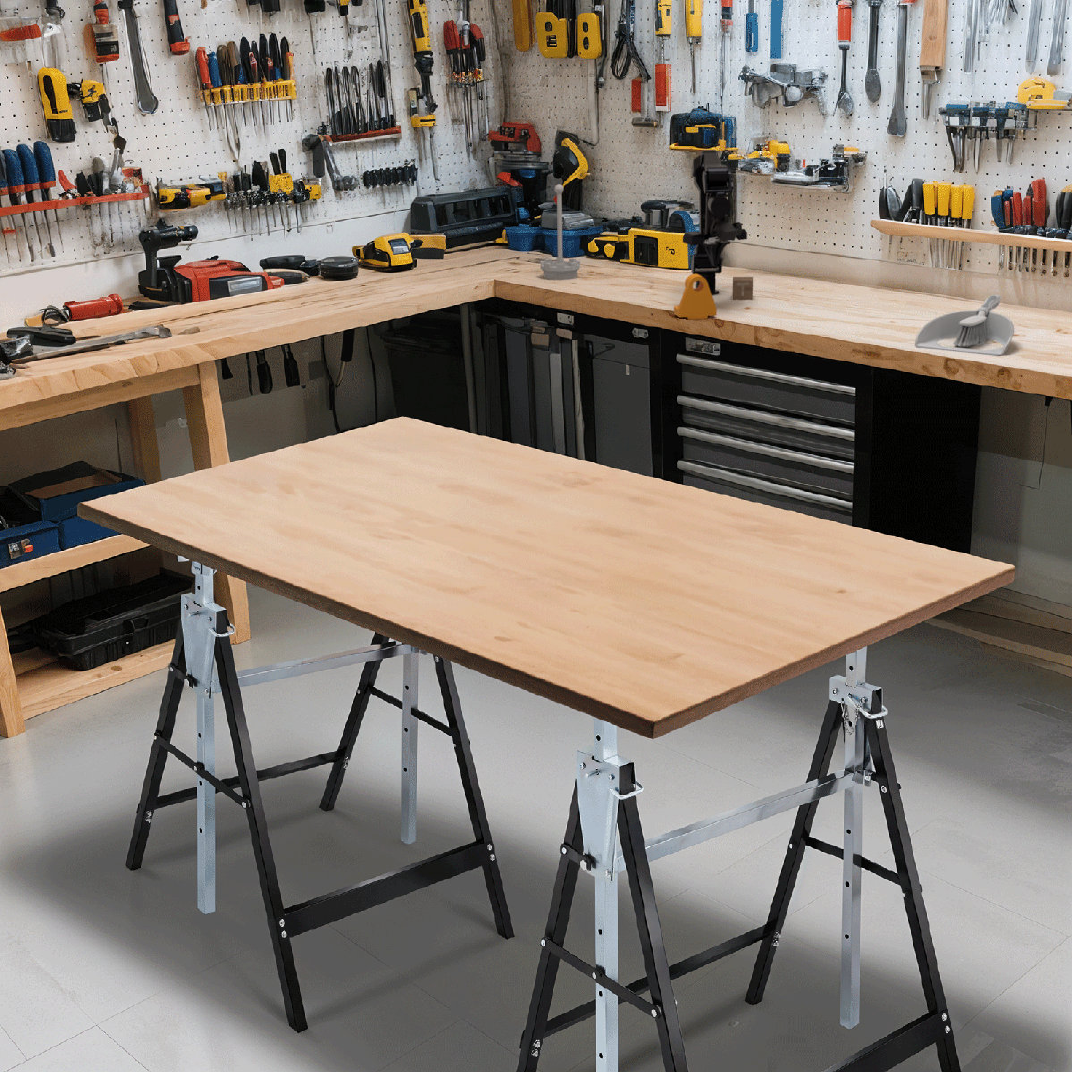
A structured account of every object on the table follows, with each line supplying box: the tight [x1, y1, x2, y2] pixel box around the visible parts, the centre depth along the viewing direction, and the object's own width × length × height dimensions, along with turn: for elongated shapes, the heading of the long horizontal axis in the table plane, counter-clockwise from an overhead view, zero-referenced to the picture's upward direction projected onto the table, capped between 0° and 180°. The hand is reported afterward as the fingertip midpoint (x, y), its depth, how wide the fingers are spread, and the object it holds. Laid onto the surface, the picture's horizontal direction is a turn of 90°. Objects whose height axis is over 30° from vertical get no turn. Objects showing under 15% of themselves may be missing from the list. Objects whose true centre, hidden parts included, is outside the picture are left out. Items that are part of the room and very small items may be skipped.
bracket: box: [673, 273, 718, 321], centre depth 385 cm, size 11×7×12 cm, turn 98°
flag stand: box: [540, 183, 581, 281], centre depth 447 cm, size 13×13×30 cm
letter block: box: [731, 276, 754, 301], centre depth 410 cm, size 6×6×6 cm
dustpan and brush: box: [914, 294, 1015, 357], centre depth 350 cm, size 23×33×10 cm
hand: (714, 265), depth 397 cm, fingers closed
